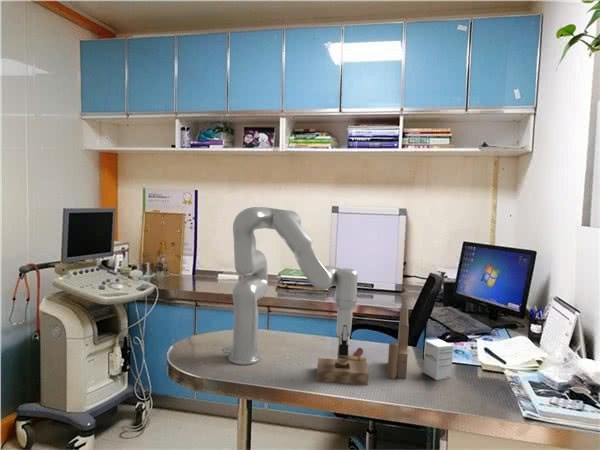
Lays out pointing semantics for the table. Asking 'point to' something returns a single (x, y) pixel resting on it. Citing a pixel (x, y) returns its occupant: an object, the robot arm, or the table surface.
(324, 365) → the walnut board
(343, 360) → the wooden pepper mill
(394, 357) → the wooden toy
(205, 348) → the table surface
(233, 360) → the robot arm
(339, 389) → the table surface
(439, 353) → the supplement box
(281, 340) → the table surface
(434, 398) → the table surface
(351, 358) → the gavel
